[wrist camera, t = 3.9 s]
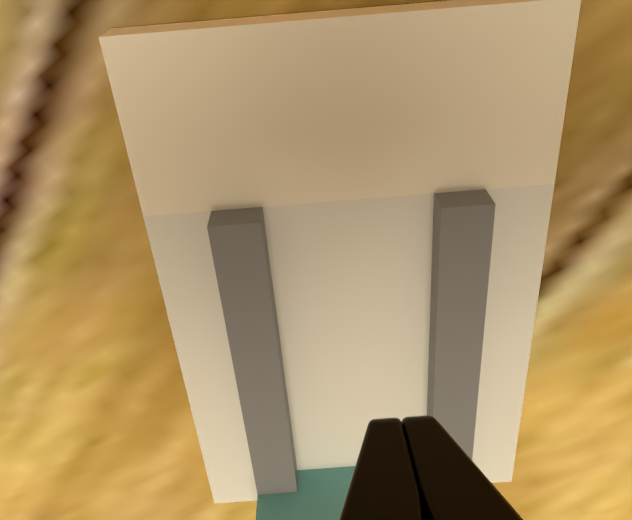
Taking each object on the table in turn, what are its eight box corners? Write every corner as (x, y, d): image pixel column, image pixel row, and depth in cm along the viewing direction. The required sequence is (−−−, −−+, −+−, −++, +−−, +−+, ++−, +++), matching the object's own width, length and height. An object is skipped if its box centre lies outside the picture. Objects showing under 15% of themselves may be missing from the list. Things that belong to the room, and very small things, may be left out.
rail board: (563, -10, 16) (628, 11, 13) (502, 457, 25) (531, 536, 22) (111, 28, 16) (66, 58, 13) (217, 478, 25) (206, 559, 22)
